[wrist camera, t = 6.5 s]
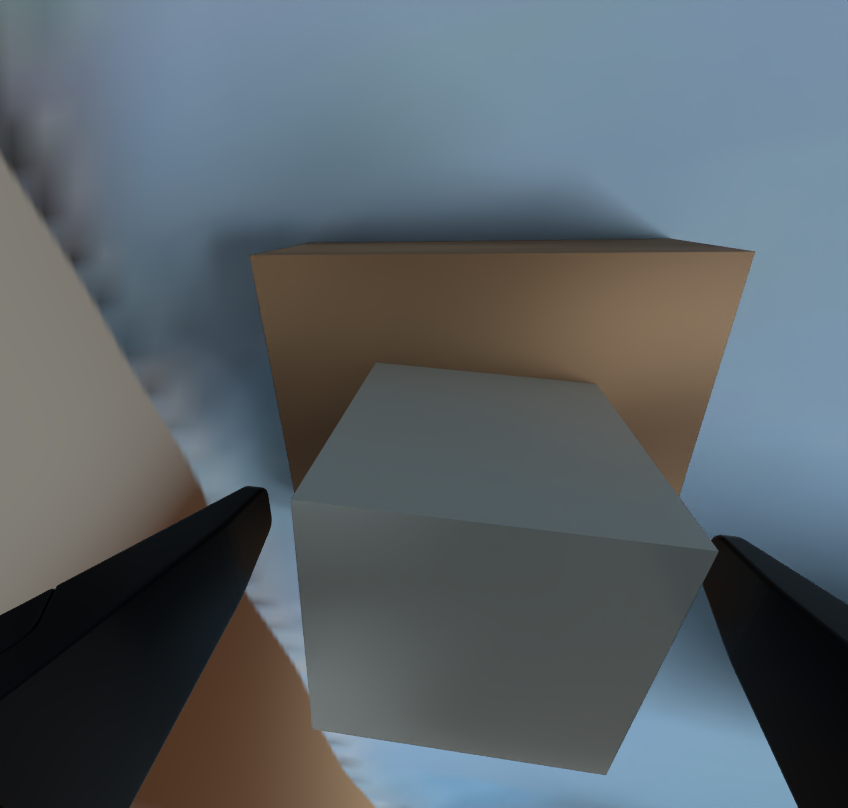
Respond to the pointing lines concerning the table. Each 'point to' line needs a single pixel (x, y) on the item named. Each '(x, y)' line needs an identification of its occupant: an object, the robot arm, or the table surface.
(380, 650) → the gray cube
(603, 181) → the table surface
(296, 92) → the table surface
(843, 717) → the robot arm
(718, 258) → the tan block
